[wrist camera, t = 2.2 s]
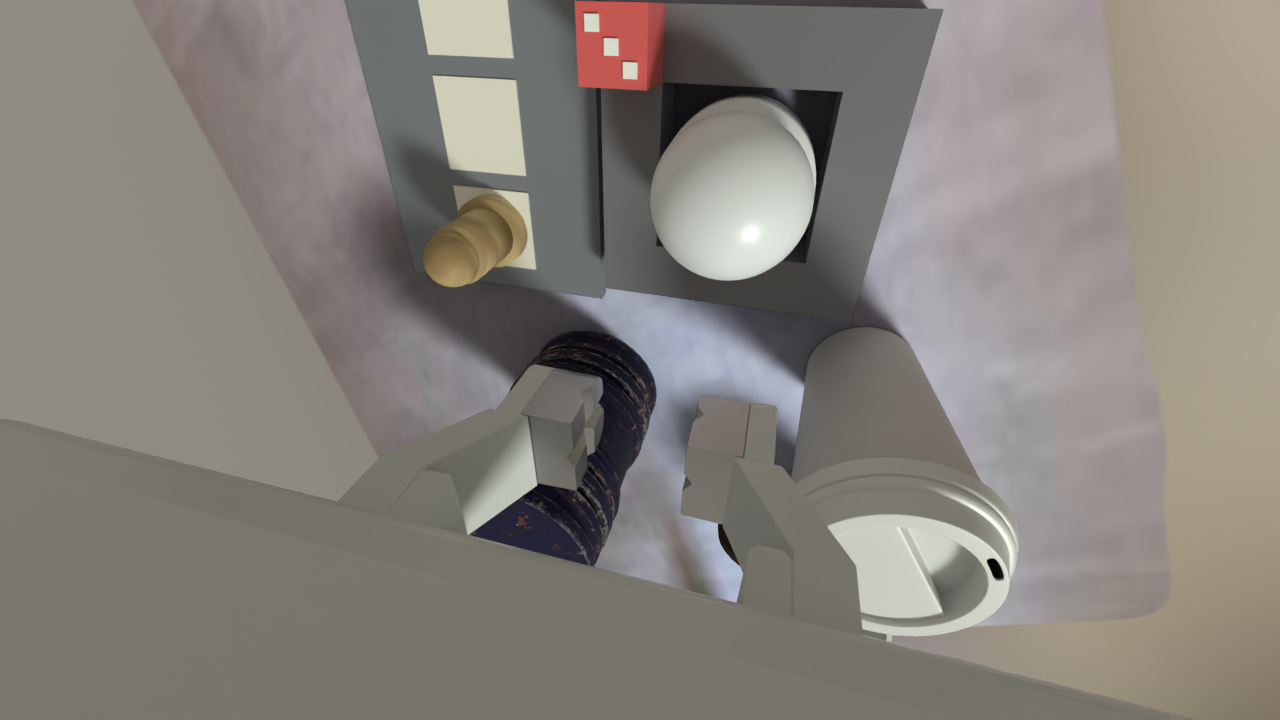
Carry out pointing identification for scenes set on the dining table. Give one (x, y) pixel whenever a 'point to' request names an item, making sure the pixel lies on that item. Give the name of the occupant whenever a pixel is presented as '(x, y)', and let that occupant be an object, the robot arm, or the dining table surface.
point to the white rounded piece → (735, 188)
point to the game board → (490, 127)
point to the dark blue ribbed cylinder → (586, 514)
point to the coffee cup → (900, 489)
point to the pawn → (475, 241)
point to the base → (769, 58)
